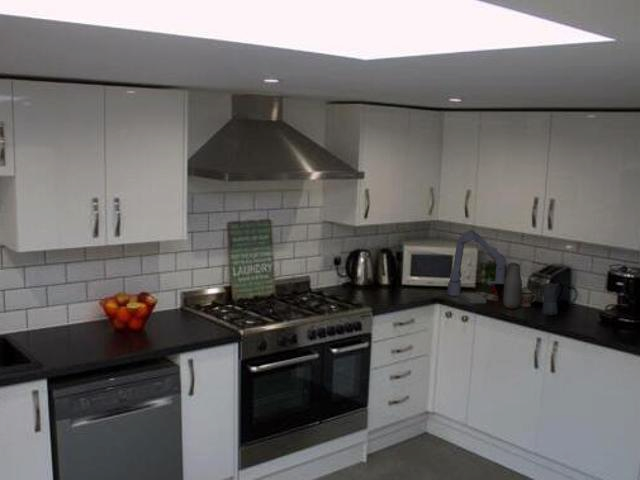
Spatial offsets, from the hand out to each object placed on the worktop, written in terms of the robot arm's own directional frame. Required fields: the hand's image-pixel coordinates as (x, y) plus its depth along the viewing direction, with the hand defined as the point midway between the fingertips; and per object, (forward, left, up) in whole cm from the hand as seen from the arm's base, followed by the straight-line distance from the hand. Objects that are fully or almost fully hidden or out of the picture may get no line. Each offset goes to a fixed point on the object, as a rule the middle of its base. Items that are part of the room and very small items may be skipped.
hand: (498, 295), depth 429 cm
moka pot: (+37, +17, -3) cm, 41 cm away
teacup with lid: (+17, +11, -3) cm, 20 cm away
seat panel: (+2, -18, -2) cm, 18 cm away
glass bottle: (+25, -2, -3) cm, 25 cm away
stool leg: (-1, -7, -2) cm, 8 cm away
